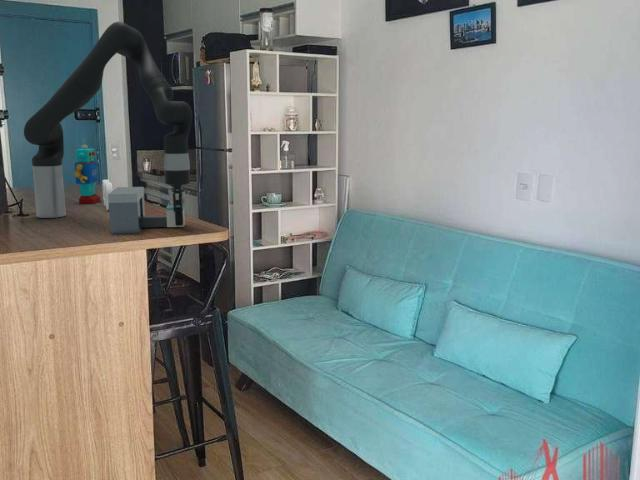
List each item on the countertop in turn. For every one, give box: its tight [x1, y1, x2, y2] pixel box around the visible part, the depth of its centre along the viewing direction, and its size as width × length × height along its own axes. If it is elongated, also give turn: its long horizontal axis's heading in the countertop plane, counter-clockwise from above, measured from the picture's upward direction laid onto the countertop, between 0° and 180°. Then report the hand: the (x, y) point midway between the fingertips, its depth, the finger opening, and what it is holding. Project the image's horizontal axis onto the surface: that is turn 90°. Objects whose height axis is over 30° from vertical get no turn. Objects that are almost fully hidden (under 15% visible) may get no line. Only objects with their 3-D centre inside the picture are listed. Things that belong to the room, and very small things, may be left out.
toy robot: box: [74, 138, 102, 205], centre depth 249 cm, size 12×6×25 cm, turn 179°
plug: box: [141, 205, 186, 229], centre depth 195 cm, size 4×21×6 cm, turn 98°
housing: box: [108, 186, 146, 235], centre depth 193 cm, size 18×8×12 cm, turn 9°
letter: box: [101, 179, 114, 212], centre depth 236 cm, size 22×2×10 cm, turn 22°
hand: (179, 223), depth 196 cm, fingers closed on plug, 4 cm apart
